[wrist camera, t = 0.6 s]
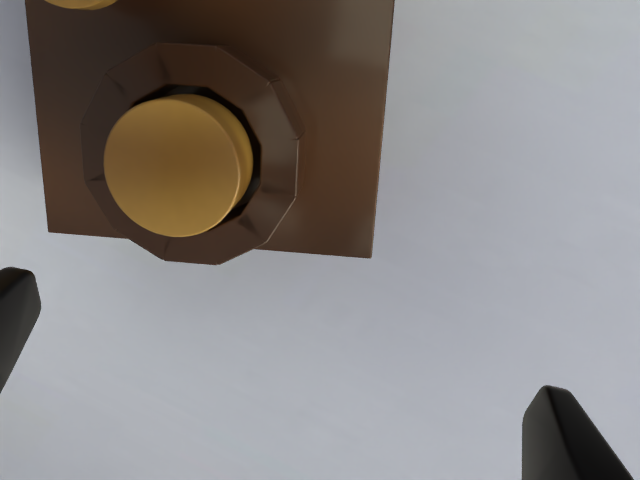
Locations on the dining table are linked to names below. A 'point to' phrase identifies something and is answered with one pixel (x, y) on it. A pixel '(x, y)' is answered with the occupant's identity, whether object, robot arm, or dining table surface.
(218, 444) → the dining table surface
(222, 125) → the button
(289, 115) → the lamp base
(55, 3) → the desk lamp
